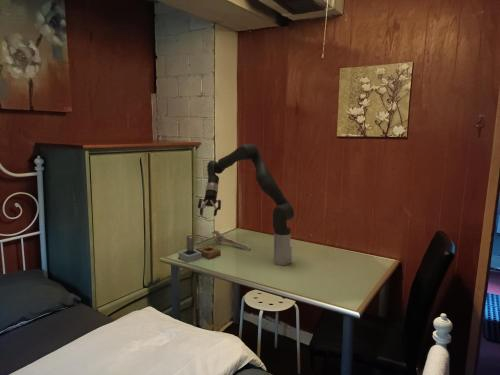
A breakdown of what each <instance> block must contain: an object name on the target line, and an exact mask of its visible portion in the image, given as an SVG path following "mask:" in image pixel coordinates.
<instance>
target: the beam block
mask: <svg viewBox="0 0 500 375" xmlns="http://www.w3.org/2000/svg"><path fill="white" fill-rule="evenodd" d="M195 250H197V251H199V252H202V258H204V259H206V260H212V259H215V258H217V257H221V256H222V255H221V254H222V252H221V251H222V250H221V249H220V248H216V247H213V246H210V245H209V244H208V245H205V246H200V247H197V248H195Z"/></svg>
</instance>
